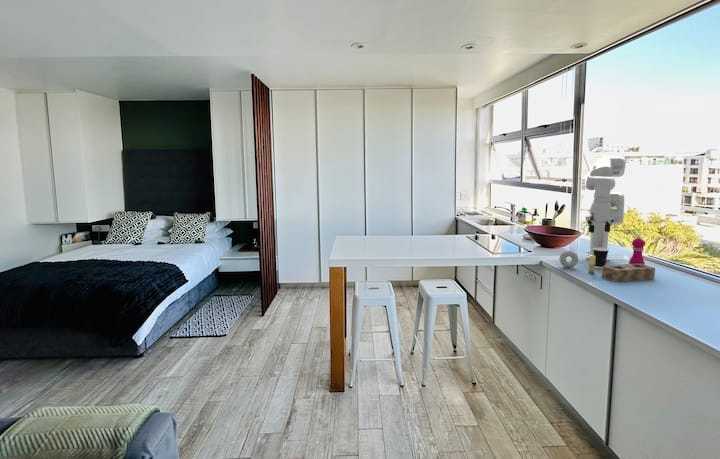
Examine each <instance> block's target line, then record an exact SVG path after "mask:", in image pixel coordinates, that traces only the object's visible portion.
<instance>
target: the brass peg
mask: <svg viewBox="0 0 720 459" xmlns="http://www.w3.org/2000/svg"><path fill="white" fill-rule="evenodd" d="M595 259H596V256H595V255H589V259H588V271H587V273H588V274H589V275H595V271H596V268H595Z"/></svg>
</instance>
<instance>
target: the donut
mask: <svg viewBox="0 0 720 459" xmlns="http://www.w3.org/2000/svg"><path fill="white" fill-rule="evenodd" d="M567 257H568V258H569V257H570V258H571V261H570V260H569V261H567ZM578 262H579V256H578V254H577V253H576V252H574V251H573V250H565V251H563V252H562V253H561V254H560V255H559V263H560V265H561V266H563V267H564V268H573V267H575V266H576V265H577V264H578Z"/></svg>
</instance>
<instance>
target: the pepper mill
mask: <svg viewBox="0 0 720 459" xmlns="http://www.w3.org/2000/svg"><path fill="white" fill-rule="evenodd" d="M631 245H632V250H633V251H632V255H631V258H630V259H629V262H628V264H637V263H640V264H644V265H646V264H645V259H644V257H643V251H644V247H645V245H646V241H645V240H644V239H643V238H642V237H641V236H640V235H638V236H637V238H635V239H633V240H632V242H631Z"/></svg>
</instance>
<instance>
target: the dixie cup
mask: <svg viewBox="0 0 720 459" xmlns="http://www.w3.org/2000/svg"><path fill="white" fill-rule="evenodd" d="M593 250H594V255H595V256H596V259H595V269H602V270H603V266H606V262H607V261H606V259H607V257H608V253H609V248H608V247H607V248H593Z"/></svg>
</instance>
